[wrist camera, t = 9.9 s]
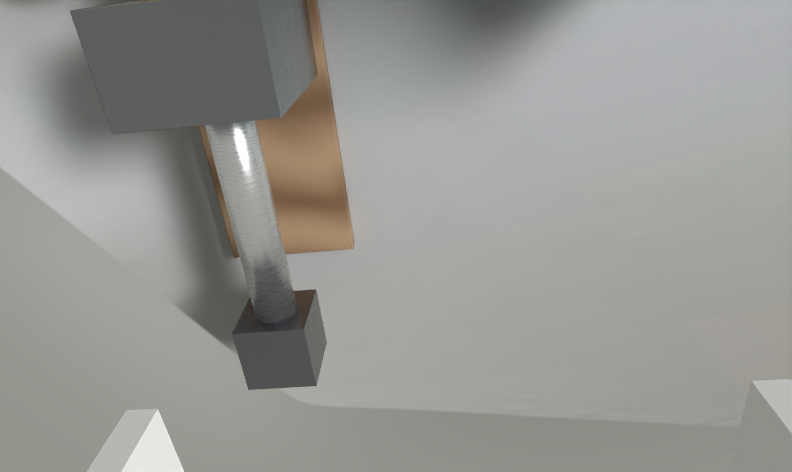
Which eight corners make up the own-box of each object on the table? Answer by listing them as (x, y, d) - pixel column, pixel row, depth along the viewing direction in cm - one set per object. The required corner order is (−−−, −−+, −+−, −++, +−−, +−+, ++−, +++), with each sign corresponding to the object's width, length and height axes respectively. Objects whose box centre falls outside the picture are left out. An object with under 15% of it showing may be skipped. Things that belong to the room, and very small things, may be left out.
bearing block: (170, -4, 36) (69, 10, 26) (303, -19, 35) (255, -11, 25) (194, 87, 39) (112, 133, 28) (318, 74, 38) (281, 118, 28)
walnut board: (143, -107, 35) (134, -109, 34) (297, -127, 34) (293, -130, 33) (238, 250, 46) (234, 257, 45) (354, 242, 45) (352, 248, 44)
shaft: (178, 14, 33) (140, 23, 28) (259, 5, 32) (234, 12, 28) (265, 346, 44) (248, 389, 39) (326, 342, 43) (316, 385, 39)
